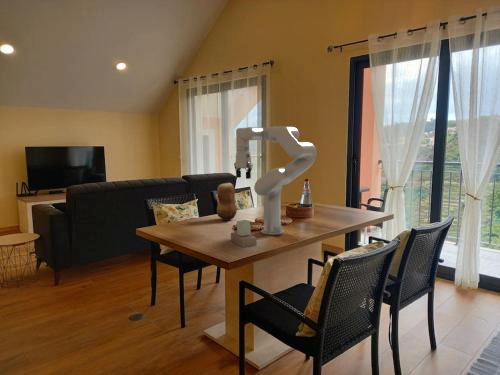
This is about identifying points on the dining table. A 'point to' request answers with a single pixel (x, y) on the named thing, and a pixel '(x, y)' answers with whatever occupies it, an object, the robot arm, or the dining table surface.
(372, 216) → the dining table surface
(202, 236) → the dining table surface
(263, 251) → the dining table surface
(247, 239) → the brick
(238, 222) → the block
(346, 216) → the dining table surface
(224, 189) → the brown oblong lump
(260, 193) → the robot arm
